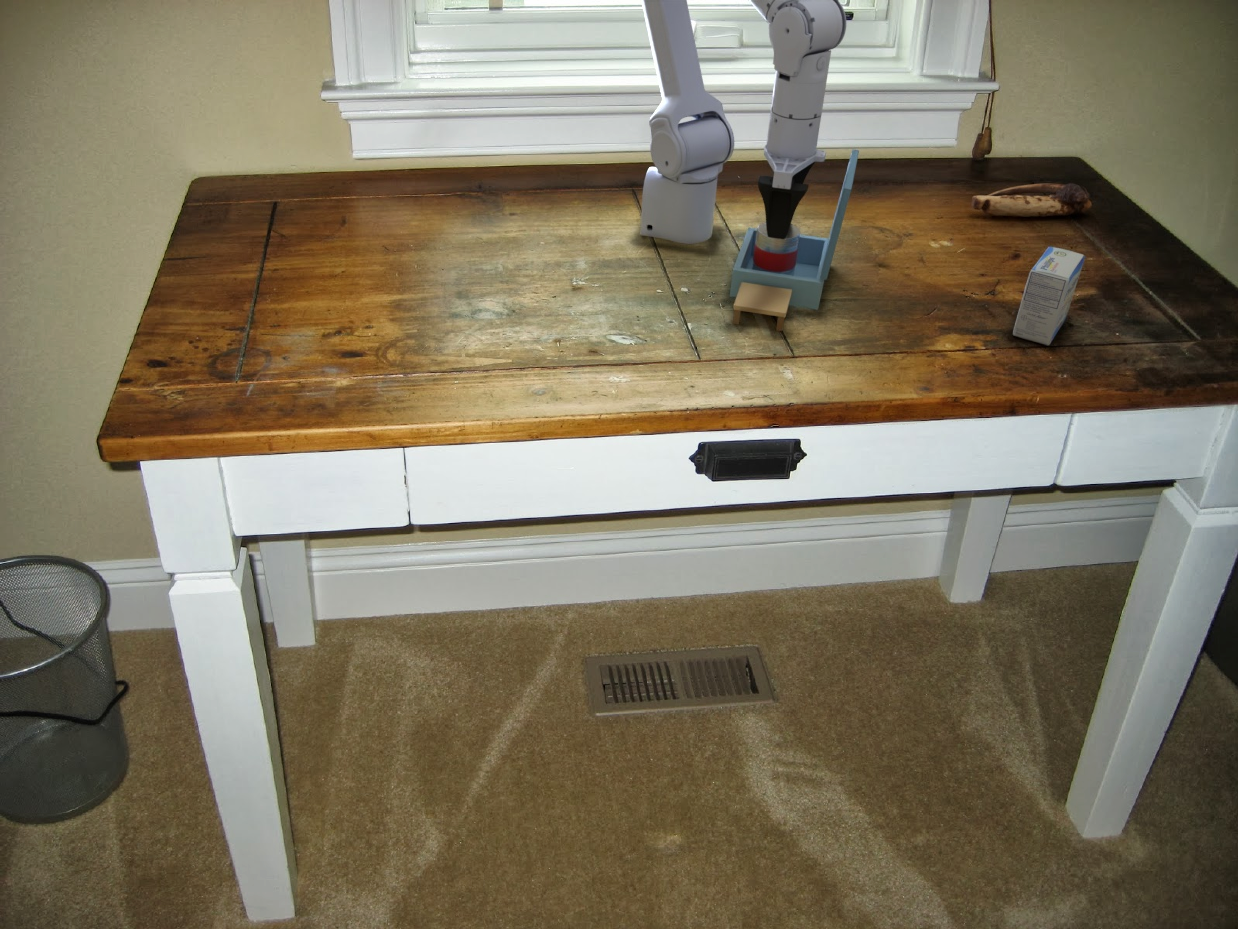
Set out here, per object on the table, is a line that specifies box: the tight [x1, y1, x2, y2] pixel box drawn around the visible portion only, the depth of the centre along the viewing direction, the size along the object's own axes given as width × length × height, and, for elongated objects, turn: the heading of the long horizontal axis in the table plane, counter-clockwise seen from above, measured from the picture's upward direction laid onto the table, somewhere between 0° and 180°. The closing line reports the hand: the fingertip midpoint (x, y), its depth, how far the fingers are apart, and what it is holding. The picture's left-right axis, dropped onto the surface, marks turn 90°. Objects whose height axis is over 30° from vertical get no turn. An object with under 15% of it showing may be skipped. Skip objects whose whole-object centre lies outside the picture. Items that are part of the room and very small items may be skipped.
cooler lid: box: [820, 148, 860, 281], centre depth 126 cm, size 11×13×1 cm
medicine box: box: [1012, 246, 1086, 347], centre depth 125 cm, size 8×4×9 cm, turn 148°
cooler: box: [729, 226, 829, 311], centre depth 132 cm, size 11×13×4 cm
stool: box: [732, 282, 792, 332], centre depth 125 cm, size 6×6×3 cm
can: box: [752, 221, 801, 276], centre depth 131 cm, size 5×5×6 cm
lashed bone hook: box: [971, 182, 1093, 218], centre depth 154 cm, size 9×5×18 cm
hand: (780, 224), depth 129 cm, fingers open, 7 cm apart
